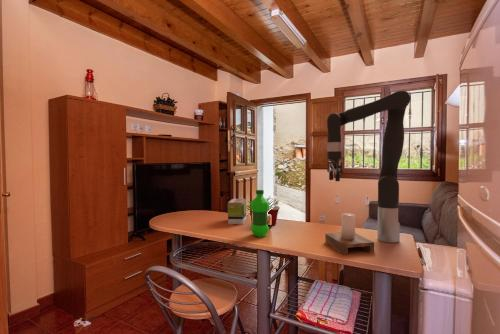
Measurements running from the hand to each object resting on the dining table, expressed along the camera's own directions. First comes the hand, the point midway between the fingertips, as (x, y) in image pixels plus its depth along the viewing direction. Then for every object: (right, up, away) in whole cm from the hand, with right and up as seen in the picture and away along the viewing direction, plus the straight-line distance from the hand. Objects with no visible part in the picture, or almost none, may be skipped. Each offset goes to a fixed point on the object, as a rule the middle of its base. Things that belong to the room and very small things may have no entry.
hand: (334, 180), depth 142 cm
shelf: (+1, -31, -18) cm, 36 cm away
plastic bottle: (-41, -31, +2) cm, 51 cm away
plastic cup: (-32, -30, +23) cm, 50 cm away
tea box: (-55, -30, +32) cm, 70 cm away
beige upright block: (+1, -26, -18) cm, 32 cm away
